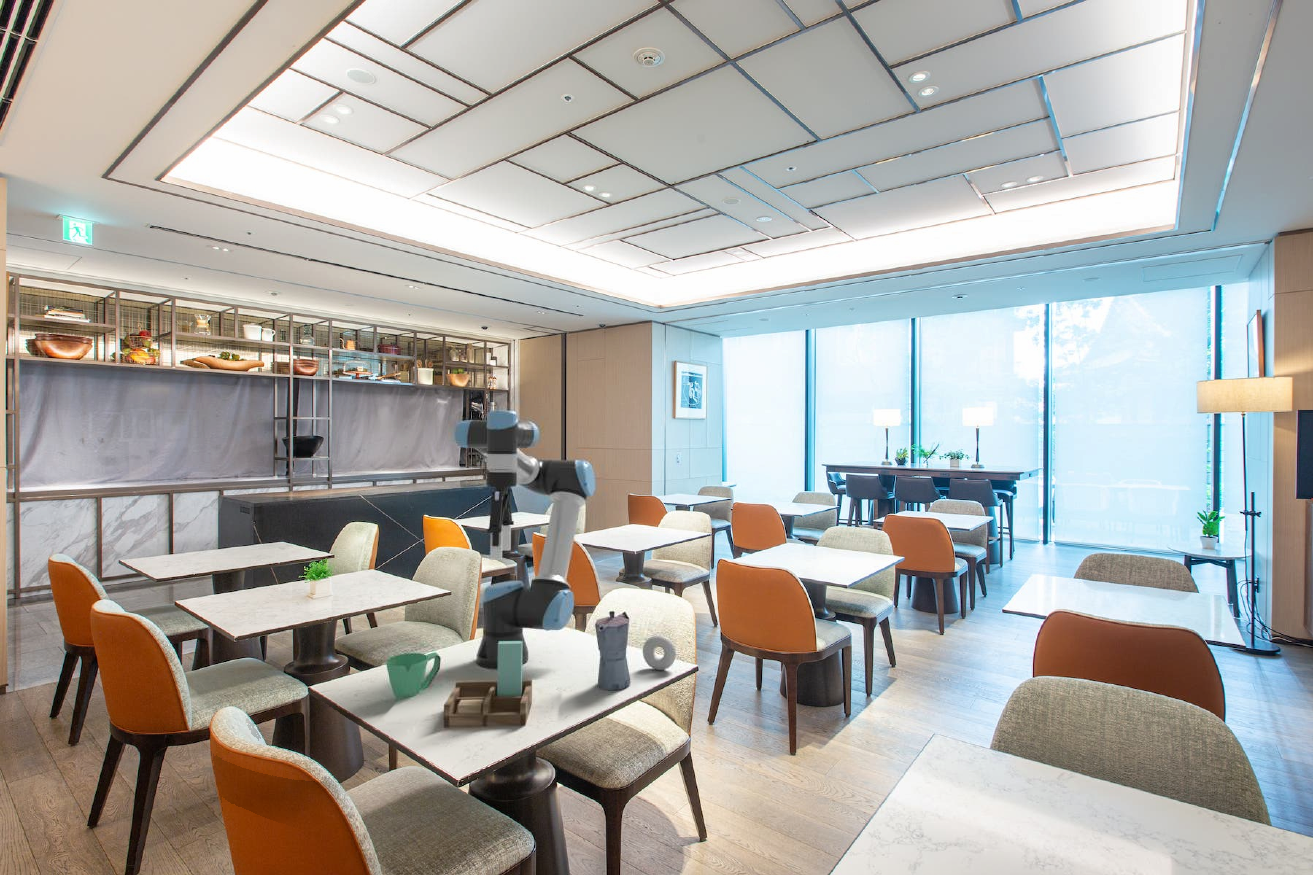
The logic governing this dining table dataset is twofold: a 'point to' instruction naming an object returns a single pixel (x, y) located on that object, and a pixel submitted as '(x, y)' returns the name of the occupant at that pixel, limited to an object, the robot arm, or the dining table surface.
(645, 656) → the donut
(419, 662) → the mug
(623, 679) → the moka pot
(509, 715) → the rack
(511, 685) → the panel
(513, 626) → the robot arm
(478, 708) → the offcut top
